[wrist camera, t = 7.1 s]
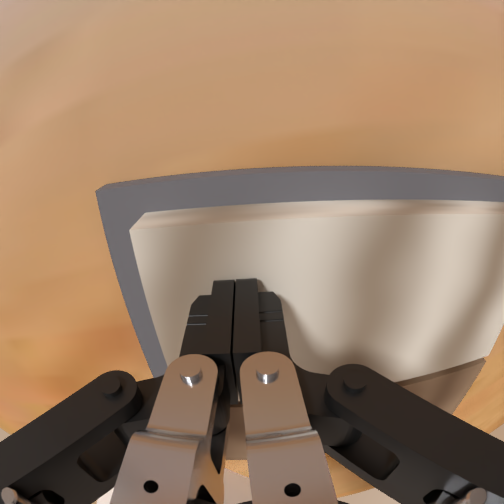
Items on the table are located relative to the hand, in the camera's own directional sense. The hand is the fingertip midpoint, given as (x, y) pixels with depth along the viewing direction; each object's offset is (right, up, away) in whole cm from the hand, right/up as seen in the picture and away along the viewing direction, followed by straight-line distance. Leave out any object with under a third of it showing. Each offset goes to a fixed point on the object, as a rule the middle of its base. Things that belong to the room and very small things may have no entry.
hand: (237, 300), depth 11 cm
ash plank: (+6, 0, +2) cm, 6 cm away
